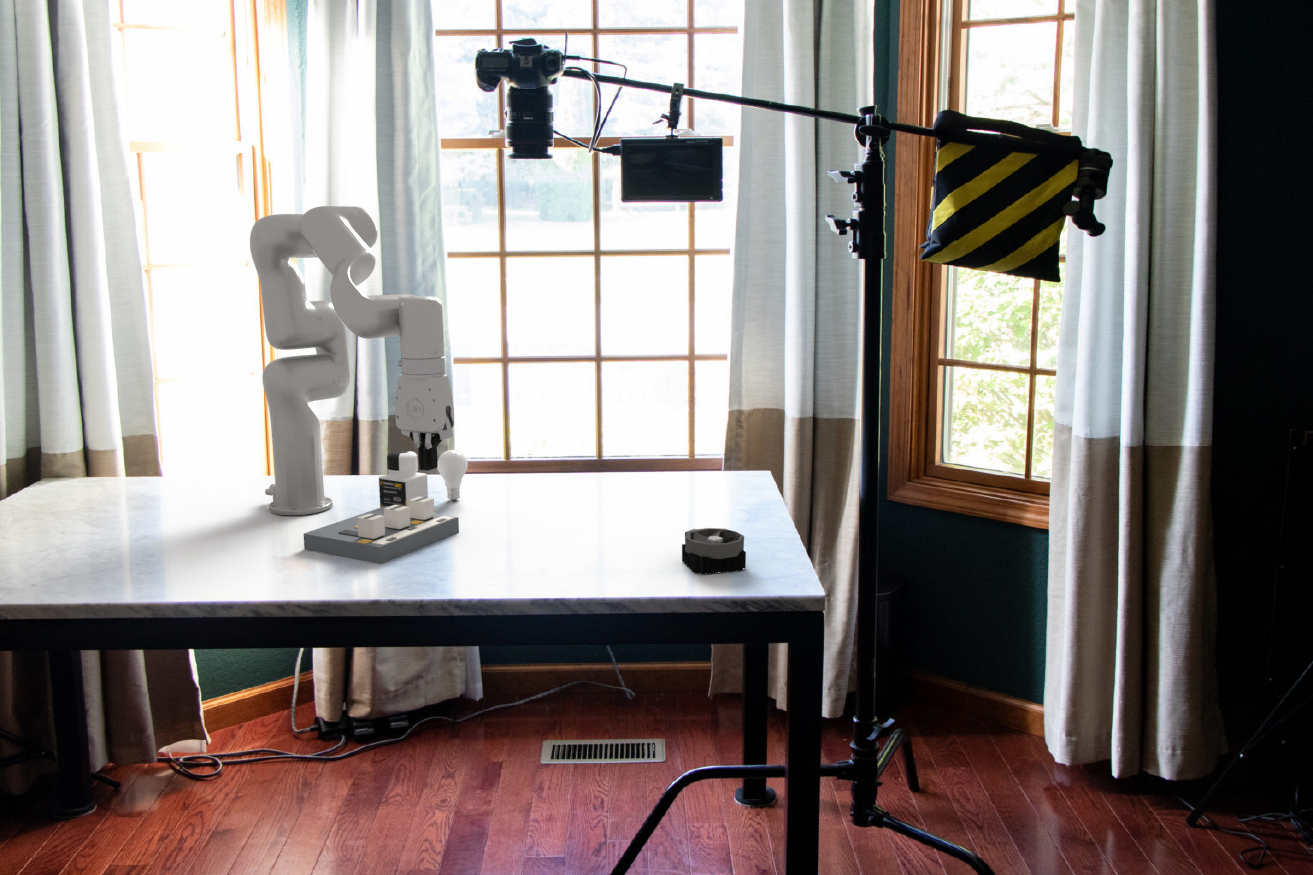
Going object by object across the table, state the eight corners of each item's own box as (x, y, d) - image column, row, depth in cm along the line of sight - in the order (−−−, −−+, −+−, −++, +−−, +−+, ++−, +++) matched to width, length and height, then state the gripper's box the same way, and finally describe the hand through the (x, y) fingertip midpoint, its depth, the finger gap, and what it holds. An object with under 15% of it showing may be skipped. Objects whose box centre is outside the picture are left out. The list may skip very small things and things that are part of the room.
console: (304, 549, 196) (303, 531, 196) (386, 520, 215) (385, 504, 215) (380, 563, 188) (380, 545, 188) (459, 532, 207) (458, 515, 207)
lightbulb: (465, 504, 228) (463, 453, 226) (435, 504, 228) (433, 453, 226) (471, 496, 234) (469, 447, 232) (442, 496, 234) (440, 447, 232)
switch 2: (384, 526, 199) (383, 507, 198) (395, 522, 202) (394, 504, 201) (399, 529, 198) (398, 510, 197) (410, 525, 200) (409, 506, 199)
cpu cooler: (752, 540, 183) (695, 545, 180) (751, 572, 184) (695, 578, 181) (730, 524, 193) (676, 529, 190) (730, 555, 194) (676, 559, 191)
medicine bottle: (379, 510, 223) (376, 453, 221) (402, 502, 229) (400, 447, 227) (406, 514, 220) (403, 457, 218) (429, 506, 226) (426, 450, 224)
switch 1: (358, 536, 193) (357, 516, 192) (370, 532, 196) (369, 512, 195) (373, 538, 191) (372, 519, 191) (385, 534, 194) (384, 515, 193)
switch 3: (409, 517, 205) (408, 499, 204) (420, 514, 208) (419, 495, 207) (424, 520, 204) (423, 501, 203) (434, 516, 206) (433, 497, 206)
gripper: (376, 367, 190) (382, 469, 194) (443, 371, 184) (448, 477, 187) (404, 363, 197) (409, 461, 200) (470, 366, 190) (475, 468, 194)
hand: (428, 468), depth 194 cm, fingers closed
